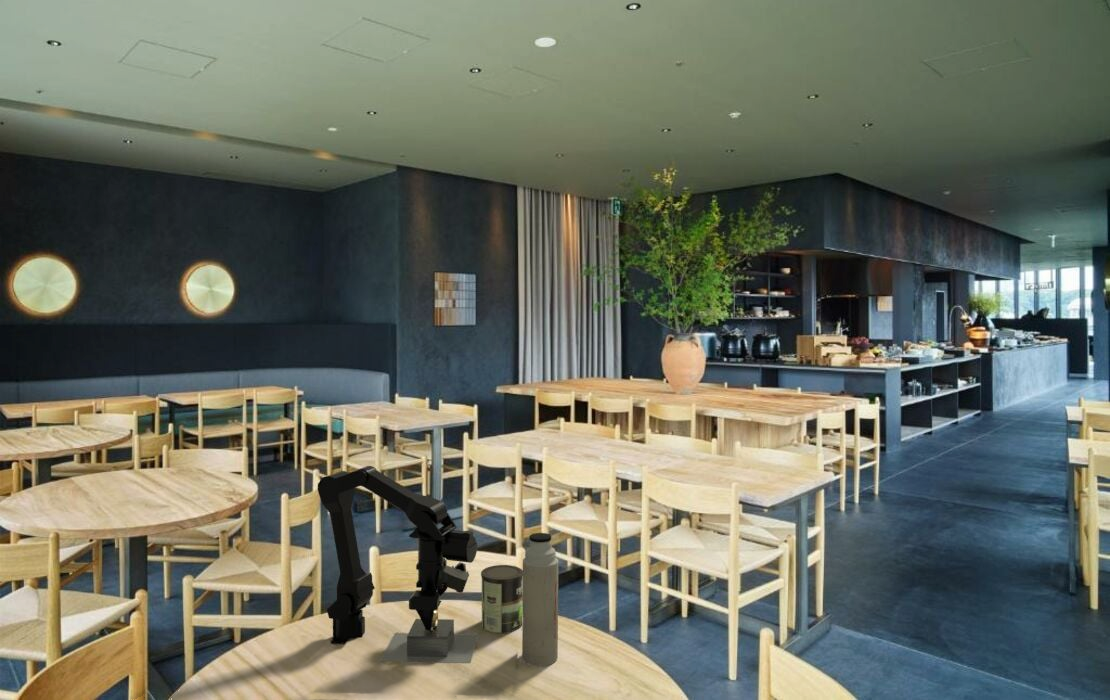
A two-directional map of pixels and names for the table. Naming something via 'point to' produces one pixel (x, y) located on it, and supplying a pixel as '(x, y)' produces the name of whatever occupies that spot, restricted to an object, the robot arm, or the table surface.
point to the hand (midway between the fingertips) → (430, 624)
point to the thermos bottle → (540, 602)
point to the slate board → (457, 654)
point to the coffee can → (502, 598)
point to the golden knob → (435, 619)
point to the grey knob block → (430, 639)
